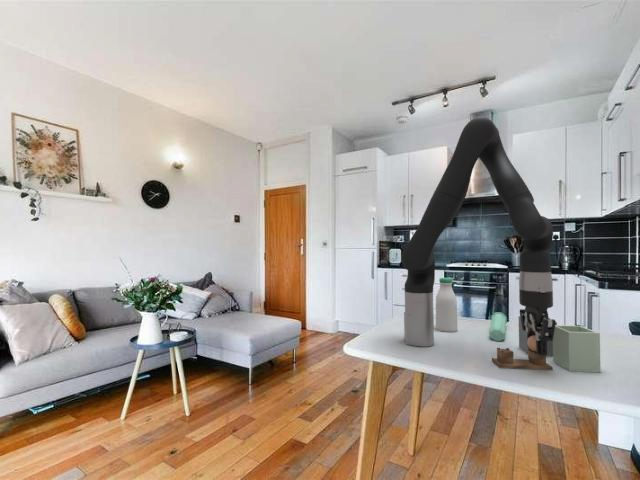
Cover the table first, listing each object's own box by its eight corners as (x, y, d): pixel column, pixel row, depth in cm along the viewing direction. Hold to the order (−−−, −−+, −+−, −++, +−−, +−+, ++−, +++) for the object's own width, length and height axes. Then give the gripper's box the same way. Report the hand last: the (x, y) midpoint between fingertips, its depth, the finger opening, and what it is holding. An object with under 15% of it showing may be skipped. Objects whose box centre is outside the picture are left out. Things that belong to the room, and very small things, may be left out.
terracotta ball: (532, 354, 83) (531, 337, 83) (523, 348, 87) (523, 333, 87) (550, 355, 82) (550, 338, 82) (541, 349, 87) (540, 333, 87)
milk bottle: (460, 332, 118) (459, 279, 118) (440, 332, 118) (439, 279, 118) (452, 327, 125) (451, 277, 126) (433, 327, 126) (432, 277, 126)
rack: (499, 367, 84) (499, 352, 84) (491, 360, 89) (491, 346, 89) (552, 370, 82) (552, 354, 82) (542, 363, 87) (541, 348, 87)
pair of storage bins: (552, 370, 82) (551, 331, 82) (519, 347, 100) (518, 316, 100) (600, 372, 80) (599, 333, 80) (557, 349, 98) (557, 317, 98)
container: (502, 324, 105) (503, 310, 127) (483, 329, 108) (488, 314, 130) (510, 342, 104) (510, 324, 126) (491, 346, 107) (494, 328, 128)
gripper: (508, 284, 93) (510, 343, 92) (534, 292, 79) (535, 360, 78) (536, 285, 92) (537, 344, 91) (567, 292, 78) (569, 362, 77)
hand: (536, 351), depth 85 cm, fingers closed on terracotta ball, 4 cm apart
